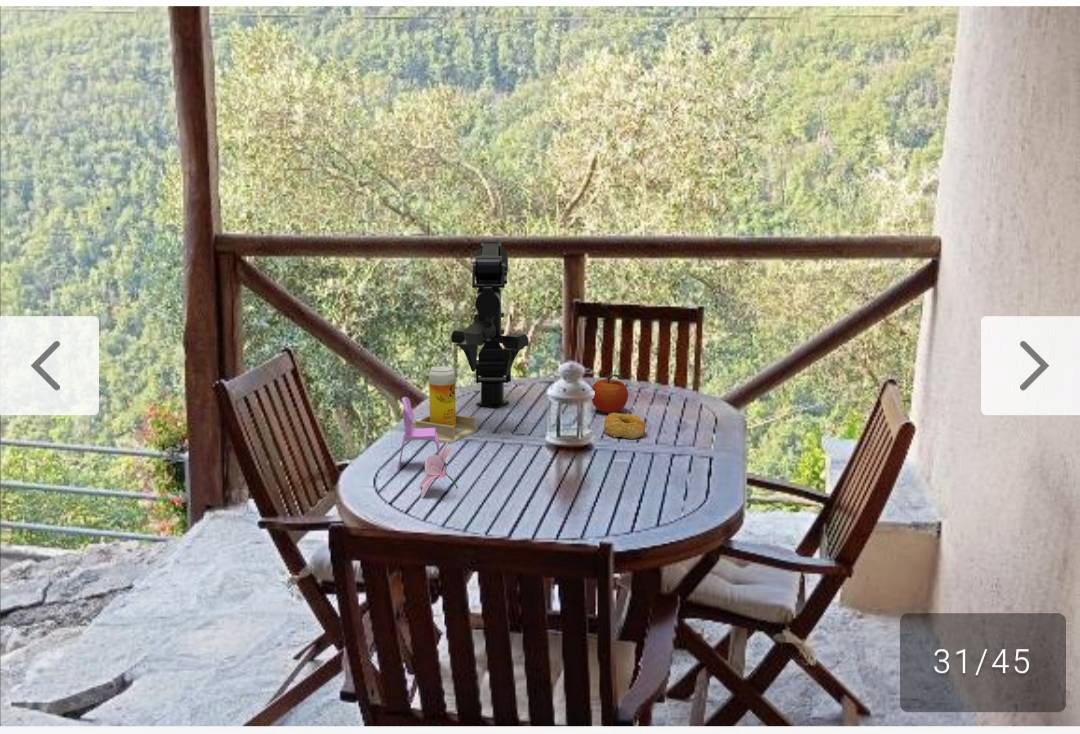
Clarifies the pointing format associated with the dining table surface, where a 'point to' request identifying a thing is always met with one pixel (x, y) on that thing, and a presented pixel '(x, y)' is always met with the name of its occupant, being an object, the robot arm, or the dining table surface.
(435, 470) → the lily
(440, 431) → the gold tray
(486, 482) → the dining table surface
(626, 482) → the dining table surface
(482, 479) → the dining table surface
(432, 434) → the toy chair
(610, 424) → the bagel
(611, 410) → the fruit
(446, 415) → the beer can
